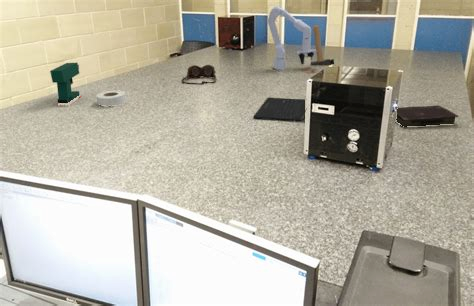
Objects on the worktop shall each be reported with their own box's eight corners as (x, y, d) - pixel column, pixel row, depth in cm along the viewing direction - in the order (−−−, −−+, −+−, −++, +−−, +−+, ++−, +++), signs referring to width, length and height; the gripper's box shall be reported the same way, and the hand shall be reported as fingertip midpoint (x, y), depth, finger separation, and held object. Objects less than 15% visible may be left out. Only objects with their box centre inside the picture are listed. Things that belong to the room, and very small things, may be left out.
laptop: (267, 100, 226) (267, 66, 218) (335, 104, 215) (338, 68, 207) (252, 119, 197) (251, 80, 189) (330, 125, 186) (333, 84, 178)
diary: (386, 116, 196) (388, 106, 194) (436, 114, 197) (438, 104, 195) (403, 129, 179) (404, 119, 177) (457, 127, 180) (460, 116, 178)
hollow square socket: (300, 64, 289) (301, 56, 286) (306, 64, 290) (307, 55, 288) (304, 66, 285) (304, 57, 282) (310, 65, 286) (310, 56, 284)
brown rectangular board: (295, 70, 290) (295, 64, 289) (309, 68, 295) (309, 62, 293) (308, 75, 275) (309, 69, 273) (323, 73, 279) (324, 67, 278)
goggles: (183, 86, 258) (182, 70, 255) (178, 78, 279) (177, 64, 275) (220, 84, 264) (220, 68, 261) (212, 76, 285) (212, 62, 281)
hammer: (307, 69, 301) (301, 29, 290) (307, 68, 306) (301, 28, 295) (334, 65, 296) (329, 23, 285) (334, 63, 301) (329, 22, 290)
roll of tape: (99, 109, 219) (97, 99, 217) (96, 101, 233) (95, 92, 230) (128, 105, 225) (127, 95, 222) (124, 98, 238) (122, 89, 236)
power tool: (78, 91, 255) (72, 59, 247) (89, 91, 255) (83, 59, 247) (56, 106, 226) (48, 71, 218) (68, 106, 226) (61, 70, 218)
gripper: (300, 45, 276) (299, 65, 281) (318, 44, 281) (317, 63, 286) (295, 44, 281) (294, 63, 287) (312, 42, 287) (311, 61, 292)
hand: (305, 63), depth 287 cm, fingers closed on hollow square socket, 5 cm apart
